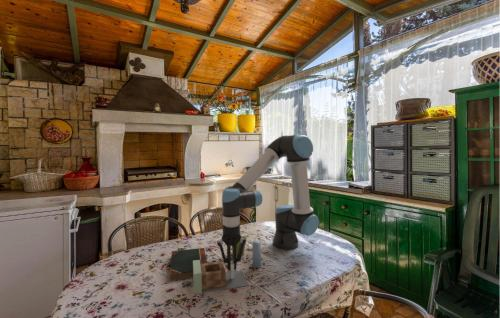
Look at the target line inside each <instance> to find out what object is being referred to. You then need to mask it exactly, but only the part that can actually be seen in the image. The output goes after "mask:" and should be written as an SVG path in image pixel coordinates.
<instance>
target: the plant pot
mask: <svg viewBox="0 0 500 318" xmlns="http://www.w3.org/2000/svg"><path fill="white" fill-rule="evenodd" d="M241 237H242V238H245V240H246V242H245V244H244V247H243V251H242V256H243V257H244V255H245V249H246V244H247V241H248V238H247V237H246V236H244V235H241ZM239 246H240V241H239V242H238V244H237V248H236V258H237V254H238V250H239ZM231 253H233V246H231ZM242 256H241V257H242Z"/></svg>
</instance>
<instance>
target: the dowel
mask: <svg viewBox="0 0 500 318" xmlns="http://www.w3.org/2000/svg"><path fill="white" fill-rule="evenodd" d="M251 244H252V268H254V269H259V268H261V267H262V265H261V263H262V260H261V259H262V255H261V253H262V252H261V251H262V242H261V241H259V240H253V241H252V243H251Z"/></svg>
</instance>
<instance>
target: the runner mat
mask: <svg viewBox="0 0 500 318" xmlns="http://www.w3.org/2000/svg"><path fill="white" fill-rule="evenodd" d="M241 287H242V288H244V287H249V282H248V279H247V278H246V276H245V274H244V272H243V270H234V278H233V279H231V278H230V271H227V272H226V286H222V287H216V288H209V289H202V292H201V293H202V294H205V293H209V292H212V293H213V292H217V291H222V290H224V291H225V290H231V289H237V288H241Z"/></svg>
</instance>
